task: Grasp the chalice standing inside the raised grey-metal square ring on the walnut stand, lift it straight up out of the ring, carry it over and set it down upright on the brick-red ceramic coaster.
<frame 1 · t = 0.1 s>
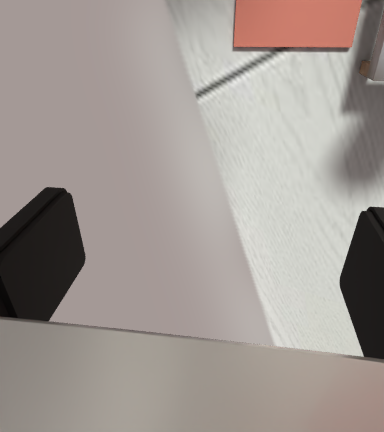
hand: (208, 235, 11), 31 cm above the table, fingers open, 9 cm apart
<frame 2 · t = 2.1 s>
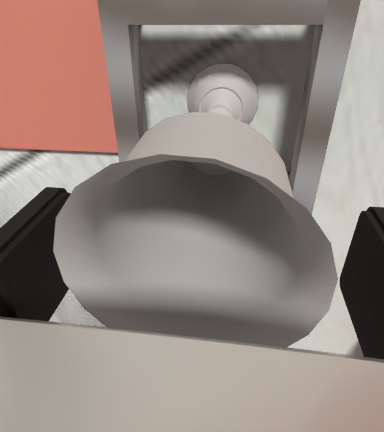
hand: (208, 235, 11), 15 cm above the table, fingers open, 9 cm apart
chalice: (222, 101, 24), on the table
coaster: (29, 68, 24), on the table
ring stand: (222, 101, 23), on the table
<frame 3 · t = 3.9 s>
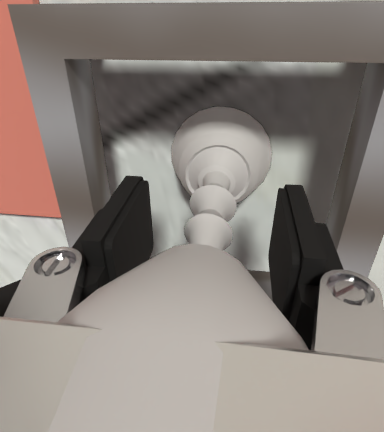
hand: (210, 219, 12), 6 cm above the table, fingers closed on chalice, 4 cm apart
chalice: (220, 156, 17), on the table, touching gripper
ring stand: (220, 157, 17), on the table
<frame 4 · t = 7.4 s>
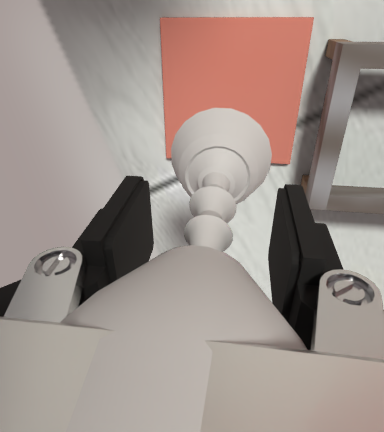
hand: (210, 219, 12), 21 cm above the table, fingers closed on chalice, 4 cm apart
chalice: (220, 157, 17), point 15 cm above the table, touching gripper
coaster: (230, 95, 29), on the table
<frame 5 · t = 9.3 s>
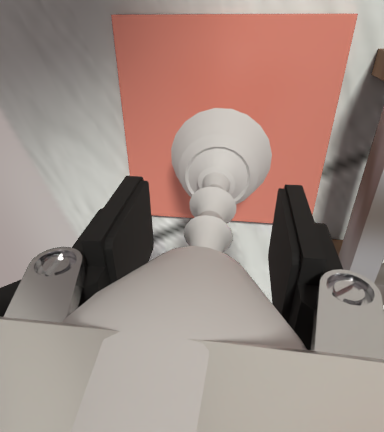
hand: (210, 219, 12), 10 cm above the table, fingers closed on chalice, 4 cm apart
chalice: (220, 157, 17), point 4 cm above the table, touching gripper
coaster: (224, 131, 20), on the table
when the fingers open (7 cm above the table, at t = 10.7 s): chalice stays where it is, resting on coaster.
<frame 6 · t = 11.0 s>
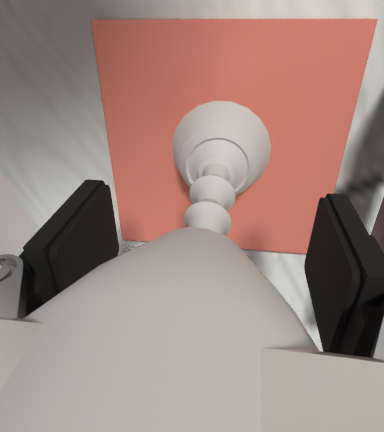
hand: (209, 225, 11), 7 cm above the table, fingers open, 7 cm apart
chalice: (220, 150, 17), resting on coaster
coaster: (221, 150, 17), on the table
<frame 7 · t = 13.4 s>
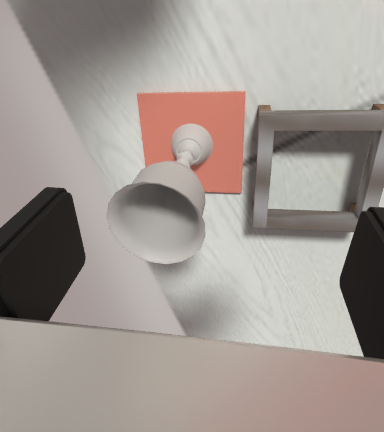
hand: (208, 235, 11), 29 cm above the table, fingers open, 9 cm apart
chalice: (191, 144, 39), resting on coaster
coaster: (192, 144, 39), on the table
ring stand: (311, 162, 38), on the table
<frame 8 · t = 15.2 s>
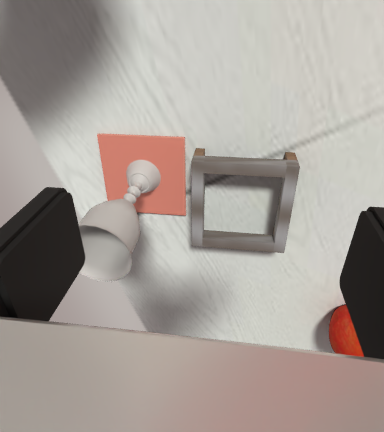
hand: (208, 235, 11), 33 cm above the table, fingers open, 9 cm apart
chalice: (143, 175, 47), resting on coaster
coaster: (144, 175, 48), on the table
ring stand: (240, 193, 47), on the table
apple: (348, 312, 57), on the table
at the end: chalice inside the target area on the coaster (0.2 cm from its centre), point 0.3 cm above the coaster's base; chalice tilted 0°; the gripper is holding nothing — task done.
